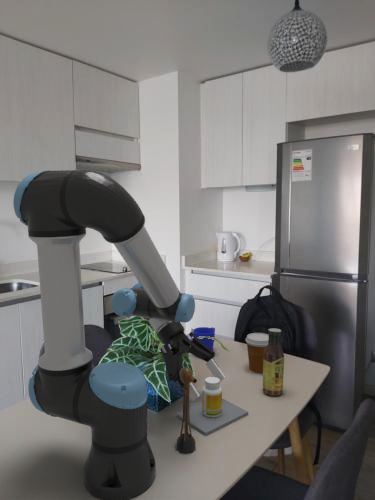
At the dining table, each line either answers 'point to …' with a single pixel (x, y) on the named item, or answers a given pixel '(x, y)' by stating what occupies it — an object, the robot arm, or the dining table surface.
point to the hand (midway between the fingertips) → (209, 389)
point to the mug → (205, 332)
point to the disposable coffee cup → (256, 350)
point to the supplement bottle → (212, 397)
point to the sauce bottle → (273, 364)
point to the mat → (213, 424)
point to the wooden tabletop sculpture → (186, 415)
